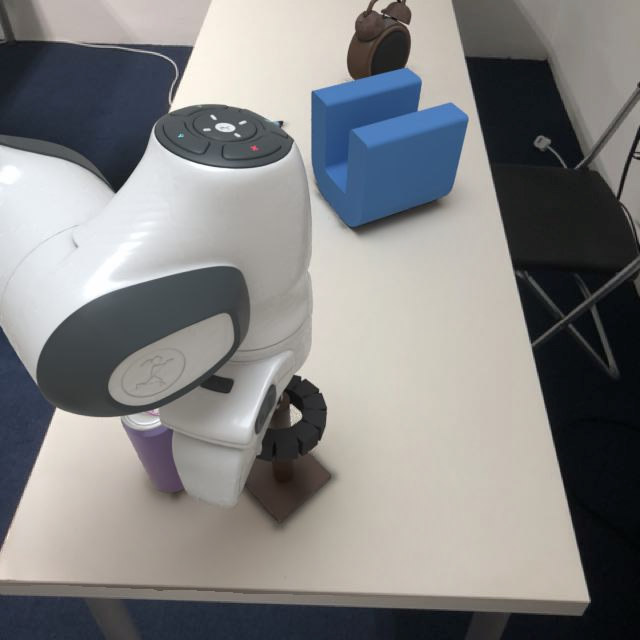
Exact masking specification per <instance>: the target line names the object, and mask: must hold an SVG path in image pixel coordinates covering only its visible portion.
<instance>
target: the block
mask: <svg viewBox="0 0 640 640" xmlns="http://www.w3.org/2000/svg"><path fill="white" fill-rule="evenodd" d="M422 84H423V80H422V78H421V77H420V76H419V75H418V74H416V73H415V72H414V71H413V70H411V69H410V68H408V67H405V68H403V69H399V70H395V71H391V72H387V73H383V74H379V75H374V76H370V77H366V78H362V79H358V80H354V79H353V80H351V81H347V82H342V83H338V84H335V85H330V86H327V87H322V88H318V89H314V90H311V93H310V136H311V137H310V155H311V157H310V159H311V166H312V171H313V172H312V173H313V175H314V180H315V182H316V185H317V187H318V189H319V191H320V193H321V196H322V197H323V198H324V199H325V200H326V202H327V203H328V205H329V206H330V207H331V208H332V209H333V210H334V212H335V213H336V214H337V215H338V217H339V218H340V219H341V220H342V221H343V222H344V224H345V225H346V226H347V225H348V227H350V228H355V227H356V228H357V227H358V226H361V225H364V224H367V223H371V222H374V221H376V220H379V219H382V218H385V217H388V216H391V215H394V214H397V213H400V212H403V211H406V210H409V209H412V208H415V207H418V206H421V205H425V204H427V203H430V202H433V201H436V200H439V199H441V198H445V197H447V196H448V195H449V194H450V193H451V192H452V190H453V188H454V186H455V181H456V177H457V174H458V173H457V172H458V169H459V168H458V167H459V165H460V164H459V163H460V159H461V156H462V151H463V147H464V142H465V138H466V135H467V134H466V133H467V129H468V125H469V121H470V120H469V115H468V114H467V113H466V112H464V110H462V109H460V108H459V107H458V106H457V105H456V104H455V103H453V102H451V101H450V102H447V103H442V104H438V105H435V106H432V107H429V108H425V109H421V110H419V105H420V99H421V93H422V87H423V85H422Z"/></svg>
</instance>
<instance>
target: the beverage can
mask: <svg viewBox="0 0 640 640" xmlns="http://www.w3.org/2000/svg"><path fill="white" fill-rule="evenodd" d="M158 411H159V408H157V409H154V410H150V411H146V412H142V413H137V414H133V415H127V416H119V417H120V423H121V425H122V427H123V429H124V431H125V433H126V435H127V437H128V439H129V441H130V443H131V445H132V447H133V449H134V451H135V453H136V455H137V457H138V459H139V461H140V463H141V465H142V466H143V468H144V470H145V473H146V474H147V476H148V479H149V480H150V483H151V484H152V485H153V486H154V487H155V488H156V489H157V490H159V491H161V492H164V493H177V492H181V491H183V490H185V489H184V486H183V484H182V482H181V479H180V477H179V474H178V471H177V468H176V465H175V461H174V458H173V453H172V437H173V431H174V430H172V429H170V428H168V427H165V426H163V425H162V424H161V422H160V419H159V415H158Z"/></svg>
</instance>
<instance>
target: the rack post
mask: <svg viewBox="0 0 640 640" xmlns="http://www.w3.org/2000/svg"><path fill="white" fill-rule="evenodd" d="M291 426H292V418H291V404H290V399H289V396H288V394H287V393H286V392H284V391H283V399H282V401H281V403H280V406H279V408H278V410H277V411H274V413H273V415H272V418H271V420H270V423H269V425H268V428H271V429H275V430H276V429H282V428H288V427H291ZM331 478H332V474H331V473H330V472H329V471H328V470H327V469H326V468H325V467H324V466H323V465H322V464H321V463H320V462H319V461H318V460H317V459H316V458H315V457H314V456H313V455H312V454H311V453H310V451H309V452H308V453H307V454H305V455H304V456H301V455H300V454H299V453H298V459H293V460H288V461H282V462H276V458H275V455H274V458H273V460H272V462H268V461H265V460H261V459H257V458H255V460H254V462H253V465H252V467H251V470H250V472H249V475H248V477H247V480H246V482H245V485H244V486H246V487H247V489H248V490H249V491H250V492H251V493H252V494H253V495H254V496H255V497H256V499H257V500H258V501H259V502H260V503H261V504H262V505H263V506H264V507H265V508H266V509H267V511H268V512H269V513H270V514H271V515H272V516H273V517H274V518H275V520H277V522H278V523H279V524H282V523H283V522H284V521H285V520H286V519H287V518H289V516H290V515H292V514H293V513H294V512H295V511H296V510H297V509H298V508H300V507H301V506H302V505H303V504H304V503H305V502H306V501H308V500H309V498H311V497H312V496H313V495H314V494H316V492H317V491H318V490H319V489H320V488H321V487H323V486H324V485H325V484H326V483H327V482H328V481H329V480H330V479H331Z"/></svg>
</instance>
